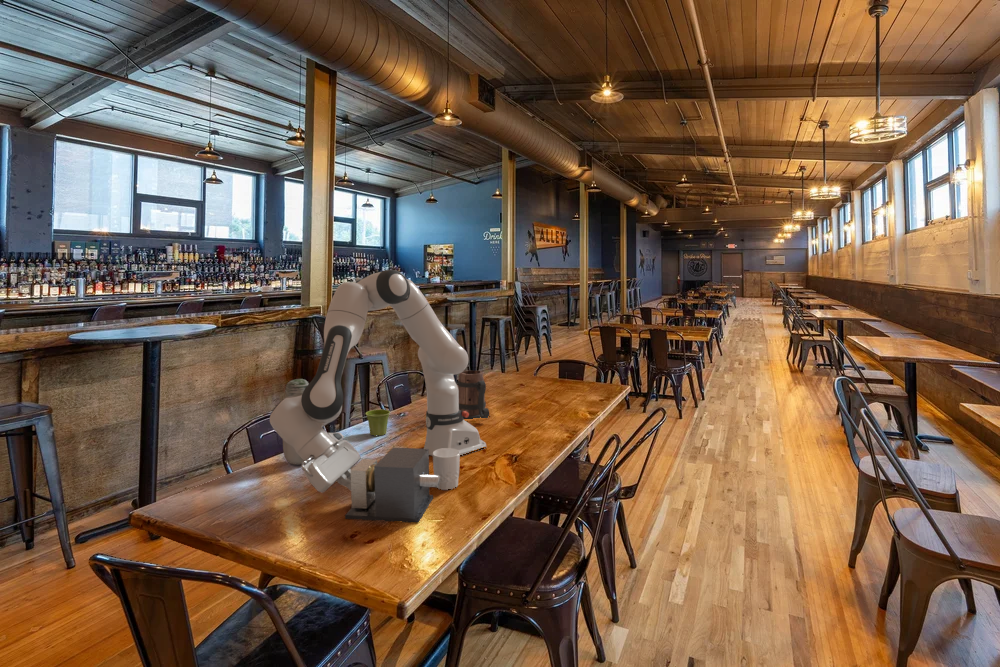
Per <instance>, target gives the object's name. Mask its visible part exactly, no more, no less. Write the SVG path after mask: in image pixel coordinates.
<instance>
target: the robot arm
mask: <svg viewBox="0 0 1000 667" xmlns="http://www.w3.org/2000/svg"><path fill="white" fill-rule="evenodd" d="M388 307H391V308H392V309H393V311H394V312H395V314H396V316H397V317H398V319H399V321H400V323H401V324H402V325H403V327H404V329H405V330H406V332H407V333H408V335H409V336H410V338H411V339H412V341H414V342H415V343H416V344H417V345H418V346H419V347H418V349H417V357H418V360H419V362H420V364H421V368H422V373H423V377H424V382H425V387H426V407H427V409H426V411H425V413H426V414H425V423H426V424H425V426H426V435H425V436H426V437H425V443H424V447H423V449H429V456H432V457H433V452H434V451H435V450H438V449H442V448H453V449H457V450H459V451H460V455H462V456H464V455H463V454H466V453H469V452H471V451H474V450H477V449H480V448H483V447H486V448H487V443H486V442H485V441H484V440H482V439H481V437H480V434H479V431H478V429H477V428H476V427H475V426H474V425H472V424H471V423H469V422H467V421H465V420H464V419H463V417H465V418H467V417H468V416H469V413H468V412H466V411H461V410H459V390H458V385H457V382H456V381H455V377H454V375H455V376H456V375H459V374H460V373H462V372H463V371H466V368H467V367H468V364H469V355H468V352H467V351H466V349H465V348H463V347H462V346H461V345H460V344H459V343H458V342H457V340H456V339H455V338H454V336H453V335H452V334H451V333H450V332H449V331H448V329H447V328H446V327H445V326H444V325H443V324H442V322H441V321H440V319H439V317H438V316H437V315H436V313H435V311H434V310H433V308H432V306H431V305H430V302H429V301H428V300H427V298H426V297H425V295H424V294H423V293H422V291H421V290H420V288H419V287H418V286H417V285H416V284H415V283H414V282H413V281H412V280H410V279H407V277H406V276H405V275H404V274H403V273H402V272H400V271H398V270H396V269H385V270H382V271H379V272H375V273H372V274H369V275H367V276H366V277H364V278H362V279H359V280H357V281H355V282H353V281H346V282H343V283H341V284H339V286H338V287H337V288H336V290H335V291H334V294H333V296H332V299H331V300H330V303H329V306H328V309H327V311H326V312H327V313H326V316H325V321H324V327H323V341H324V344H323V350H322V352H321V357H320V360H319V363H318V367H317V370H316V374H315V375H314V376H313V378H312V380H310V382H308V383H309V384H308V385H307V387H306V388H305V390H304V391H303V394H302V395H301V396H297V397H292V398H283V399H282V400H280V401H279V402H278V403H277V405H275V406H274V408H273V409H272V411H271V413H270V415H269V423H270V425H271V427H272V429H273V430H274V431H275V432H276V433H277V435H278V436H279V437H280V438H281V439H282V441H283V440H284V441H285V442H286V443H288V444H290V445H291V446H292V447H293V448H294V449H295V451H296V453H297V454H298V455H299V456H300V457H301V458H302V459H303V460H304V461H303V462H302V464H301V470H302V471H303V473H304V475H305V477H306V479H307V480H308V481H309V483H310V484H311V485H312V486H313V487H314V489H315V490H317V492H318V493H322V494H324V493H325V492H326V491H328V489H330V487H331V486H333V485H334V484H335V483H336V482H337V483H338V484H339V485H341V486H343V487H344V488H347V489H348V490H349V491H350V492H351V471H350V470H351V469H352V468H354V467H355V466H356V465H357V464H358V463H359V462H360V461H361V460H362V459H361V455H360V453H359V451H358V450H357V449H356V448H355V447H354V446H353V445H352V444H351V443H350V442H349V441H348V440H346V439H344V438H345V437H344V435H343V434H342V433H341V432H339V431H338V432H337V431H336V432H327V431H326V430H325V429H324V428H323V427H325V426H327V425H329V424H330V423H332V422H334V421H336V420H337V418H339V416H340V415H341V413H342V411H343V403H344V392H343V388H342V376H343V373H344V368H345V365H346V361H347V357H348V356H349V352H350V350H351V349H352V348H353V347H355V346H356V345H357V344H358V343H359V341H360V339H361V337H362V335H363V332H364V328H365V326H366V322H367V316H368V313H371V312H373V311H380V310H384V309H386V308H388ZM469 454H470V453H469ZM466 455H467V454H466Z"/></svg>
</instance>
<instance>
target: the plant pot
mask: <svg viewBox="0 0 1000 667" xmlns="http://www.w3.org/2000/svg"><path fill="white" fill-rule="evenodd" d="M390 413H391V411H390V410H387V409H379V408H378V409H373V410H368V411H366V412H365V415H366V418H367V422H368V428H369V434H370V435H371V436H372V435H374V436H373V437H379V436H385V435H387V431H388V421H389V416H390ZM384 434H385V435H384ZM376 435H377V436H376ZM378 435H379V436H378Z"/></svg>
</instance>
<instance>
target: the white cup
mask: <svg viewBox="0 0 1000 667" xmlns="http://www.w3.org/2000/svg"><path fill="white" fill-rule="evenodd" d="M460 457H461V456H460V451H459V450H457V449H453V448H442V449H438V450H435V451H434V452H433V456H432V464H433V465H432V466H433V475H440V484H439V487H435V488H436V489H437V488H438V489H437V490H440V489H441V491H449V490H448V489H451V490H453V488H454V489H456V488H457V487H458V486H459V477H460V462H461V461H460V459H461V458H460ZM455 487H456V488H455Z"/></svg>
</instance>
